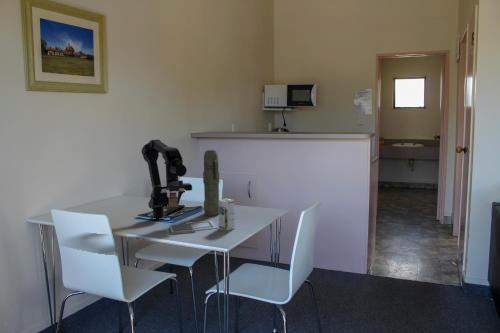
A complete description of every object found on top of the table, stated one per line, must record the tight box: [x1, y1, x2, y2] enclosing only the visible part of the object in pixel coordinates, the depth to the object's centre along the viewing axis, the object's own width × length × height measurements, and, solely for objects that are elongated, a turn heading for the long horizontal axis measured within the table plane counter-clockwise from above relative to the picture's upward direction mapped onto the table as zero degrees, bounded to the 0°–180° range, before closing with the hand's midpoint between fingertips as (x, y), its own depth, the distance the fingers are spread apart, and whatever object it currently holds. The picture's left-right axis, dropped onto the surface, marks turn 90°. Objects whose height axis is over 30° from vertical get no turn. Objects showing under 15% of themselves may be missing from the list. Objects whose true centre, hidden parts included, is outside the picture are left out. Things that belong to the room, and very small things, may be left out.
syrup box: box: [218, 198, 236, 232], centre depth 214 cm, size 6×6×14 cm
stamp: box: [167, 191, 180, 210], centre depth 219 cm, size 5×5×8 cm
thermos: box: [202, 149, 221, 217], centre depth 241 cm, size 9×12×35 cm
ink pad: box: [168, 223, 196, 235], centre depth 214 cm, size 11×11×2 cm
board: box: [184, 219, 219, 232], centre depth 221 cm, size 14×14×1 cm
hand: (173, 205), depth 219 cm, fingers closed on stamp, 4 cm apart
